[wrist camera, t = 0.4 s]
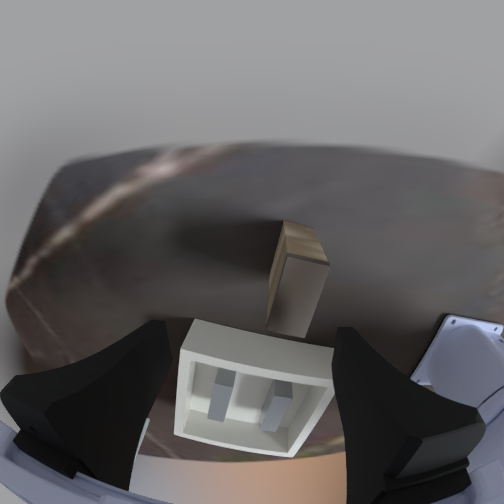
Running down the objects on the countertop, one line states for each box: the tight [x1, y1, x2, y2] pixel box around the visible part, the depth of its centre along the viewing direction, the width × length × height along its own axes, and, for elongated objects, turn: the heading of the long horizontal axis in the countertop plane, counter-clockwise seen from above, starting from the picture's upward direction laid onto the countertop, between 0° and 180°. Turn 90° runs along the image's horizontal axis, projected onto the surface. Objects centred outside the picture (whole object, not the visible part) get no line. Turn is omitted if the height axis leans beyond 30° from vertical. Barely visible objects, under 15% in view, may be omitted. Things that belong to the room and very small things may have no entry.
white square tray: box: [174, 319, 335, 457], centre depth 22 cm, size 12×12×4 cm
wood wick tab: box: [266, 221, 330, 338], centre depth 17 cm, size 2×4×7 cm, turn 168°
